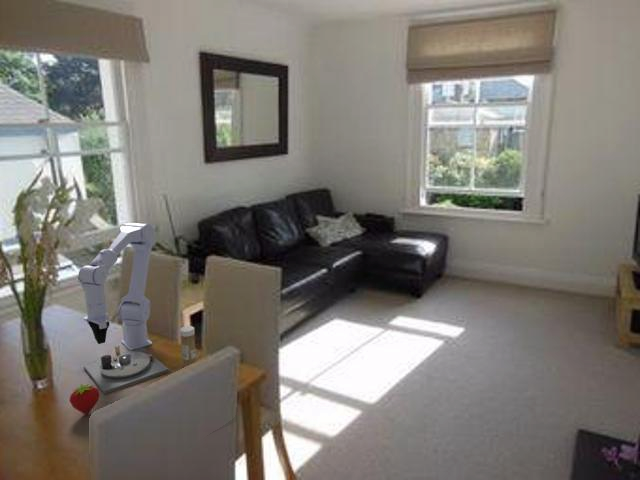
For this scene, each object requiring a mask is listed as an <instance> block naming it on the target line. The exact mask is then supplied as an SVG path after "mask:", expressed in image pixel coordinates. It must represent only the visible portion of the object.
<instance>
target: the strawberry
mask: <svg viewBox="0 0 640 480" xmlns="http://www.w3.org/2000/svg"><path fill="white" fill-rule="evenodd" d="M72 391H73V392H71V394H70V396H69V403H70V404H71V406H72V407H73V408H74V409H75V410H77V411H78V412H80V413H82V414H84V415H88V414H89V413H91V411H92V410H93V409H94V407H95V406H96V405H97V403H98V401H99V398H100V391H99V388H96V387H94V385H89V384H86V385H83V383H80V387H76V388H75V389H74V388H73V389H72Z"/></svg>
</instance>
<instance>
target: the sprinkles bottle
mask: <svg viewBox="0 0 640 480" xmlns="http://www.w3.org/2000/svg"><path fill="white" fill-rule="evenodd" d="M179 334H180V342H181V345H180V346H181V354H182V355H181V357H182V367H183V368H184V367H185V366H188V365H190V364H192V363H195V362H196V363H197V352H196V342H195V341H196V340H195V339H196V338H195V327H194V326H192V325H185V326H183V327H181V328H180V329H179Z"/></svg>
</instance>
